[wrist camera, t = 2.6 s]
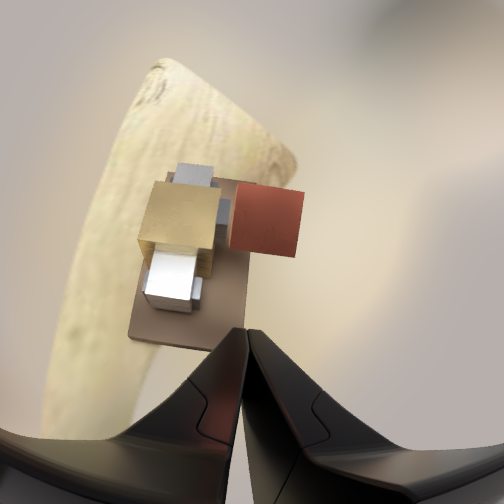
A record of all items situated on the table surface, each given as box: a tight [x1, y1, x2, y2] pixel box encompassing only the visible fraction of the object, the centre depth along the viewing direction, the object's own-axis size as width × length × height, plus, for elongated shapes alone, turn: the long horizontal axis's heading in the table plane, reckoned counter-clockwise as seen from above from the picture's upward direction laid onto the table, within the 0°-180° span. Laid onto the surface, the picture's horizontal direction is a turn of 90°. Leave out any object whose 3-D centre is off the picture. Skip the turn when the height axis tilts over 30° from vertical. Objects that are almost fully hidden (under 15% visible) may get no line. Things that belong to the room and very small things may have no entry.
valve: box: [137, 163, 231, 313], centre depth 20 cm, size 10×5×5 cm, turn 175°
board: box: [128, 172, 256, 352], centre depth 23 cm, size 14×8×1 cm, turn 175°
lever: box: [229, 182, 304, 258], centre depth 13 cm, size 2×2×12 cm
